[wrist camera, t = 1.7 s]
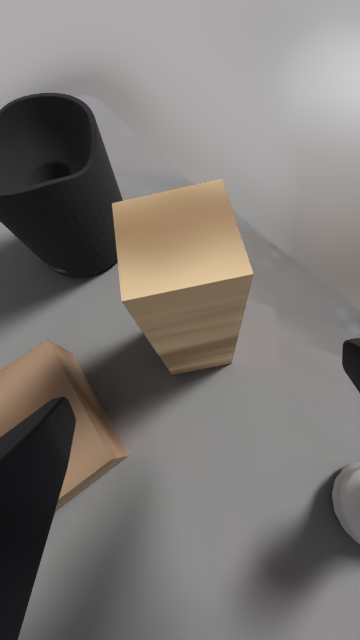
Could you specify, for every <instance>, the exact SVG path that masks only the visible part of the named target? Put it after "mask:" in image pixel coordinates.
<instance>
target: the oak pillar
mask: <svg viewBox="0 0 360 640" xmlns="http://www.w3.org/2000/svg"><path fill="white" fill-rule="evenodd" d="M112 209H113V219H114V229H115V239H116V249H117V259H118V269H119V279H120V289H121V299H122V302H123V304H124V305H125V307H126V308H127V310H128V311H129V313H130V314H131V316H132V317H133V319H134V320H135V321H136V323H137V324H138V326H139V327H140V329H141V330H142V332H143V333H144V335H145V336H146V338H147V339H148V341H149V342H150V343H151V345H152V346H153V348H154V349H155V351H156V352H157V354H158V355H159V357H160V358H161V360H162V361H163V362H164V364H165V365H166V367H167V368H168V370H169V371H170V373H171V374H172V375H175V374H180V373H186V372H191V371H196V370H201V369H206V368H211V367H216V366H221V365H226V364H231V363H232V359H233V355H234V351H235V347H236V342H237V338H238V334H239V330H240V326H241V322H242V318H243V314H244V310H245V306H246V302H247V298H248V294H249V290H250V286H251V281H252V277H253V271H252V268H251V265H250V262H249V259H248V256H247V253H246V250H245V247H244V244H243V241H242V238H241V235H240V232H239V229H238V226H237V223H236V219H235V216H234V213H233V210H232V207H231V204H230V201H229V198H228V196H227V192H226V189H225V186H224V183H223V180H222V179H219V180H215V181H210V182H205V183H201V184H196V185H192V186H187V187H183V188H178V189H174V190H169V191H165V192H160V193H156V194H151V195H147V196H142V197H138V198H133V199H129V200H124V201H120V202H115V203H112Z"/></svg>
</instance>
